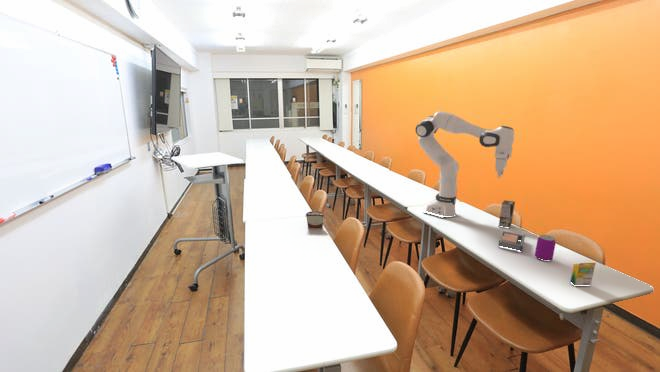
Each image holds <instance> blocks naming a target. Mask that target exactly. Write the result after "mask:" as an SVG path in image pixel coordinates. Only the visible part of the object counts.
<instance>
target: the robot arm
mask: <svg viewBox="0 0 660 372" xmlns="http://www.w3.org/2000/svg"><path fill="white" fill-rule="evenodd" d="M439 129H441V130H443V131H445V132H448V133H450V134H451V133H452V134H456V135H457V134H467V135H471V136H473V137H475V138H478V140H479V141H478V142H479V143H480V145H481V146H482V147H484V148H492V147H494V148H495V150H494V151H495V152H494V159H495V171H496V172H497V173H496V174H497V176H496V177H497V178H498V179H500V178H502V175H504V170H505V168H506V167H507V165H508V160H509V158H512V154H513V144H514V140H515V130H514V129H513V128H512V127H510V126H507V125H506V126H505V125H502V126H501V125H500V126H498V127H497V128H494V129H486V128H483V127H480V126H478V125H475V124H472V123H470V122H468V121H466V120H465V119H464V118H461V117H460V116H458V115H456V114H453V113H451V112H447V111H442V110H438V111H436V112H435V113H434V114H433V115H429V116H427V117H426V118H424V119H422V120H421V121H419V123H417V125H416V127H415V134H416V135H417V136H418V138H417V142H418V145H419V146H420V148H421V149H422V150H423V152H424V154H426V155H427V156H428V158H429V159H430V160H431V161H432V162H433V163H434V164H436V165H437V166H438V167H439V190H438V193H437V194H436V195H435V197H434V198H435V199H433V200H431V201H429V202H428V203H427V205H426V211H428V212H432V213H435V214H439V215H443V216H454V215H456V216H457V214H456V203H457V202H456V201H457V196H456V195H457V185H458V184H457V182H458V180H457V176H458V171H460V170H459V169H460V165H459V161H457V160H456V159H455V158H454V157H453V156H452V155H451V154H450V153H449V152H448V151H446V149H445V148H444V147H443V146H442V145H441V143H439V141H438V140H437V139H436V138H435V135H434V134H436V133H437V131H438V130H439Z"/></svg>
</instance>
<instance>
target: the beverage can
mask: <svg viewBox="0 0 660 372" xmlns="http://www.w3.org/2000/svg"><path fill="white" fill-rule="evenodd" d="M555 248H556V240H555V237H553V236H552V235H548V234H540V235H539V237H538V238H537V241H536V247H535V250H534V251H535V252H534V257H535V256H536V257H537V258H540V259H543V260H551V261H552V260H553V259H554V252H555ZM536 257H535V258H536ZM537 258H536V259H537Z"/></svg>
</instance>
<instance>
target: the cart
mask: <svg viewBox="0 0 660 372" xmlns="http://www.w3.org/2000/svg"><path fill="white" fill-rule="evenodd" d="M500 241H505V242H509V243H514V244H517V243H518V236H517V235H512V234H507V233H504V236H503V238H502V237H501V240H500Z"/></svg>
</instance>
